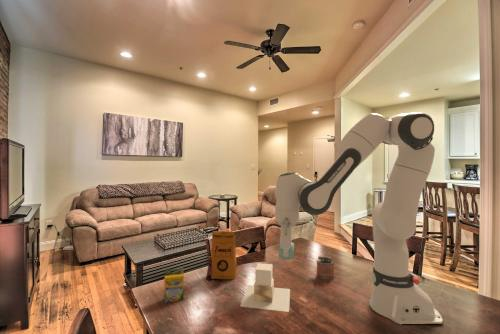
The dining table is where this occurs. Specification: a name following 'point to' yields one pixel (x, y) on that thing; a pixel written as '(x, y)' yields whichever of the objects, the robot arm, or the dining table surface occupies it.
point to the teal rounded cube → (290, 252)
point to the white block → (264, 274)
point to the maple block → (264, 292)
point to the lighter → (325, 268)
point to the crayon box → (174, 285)
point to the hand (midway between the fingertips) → (286, 252)
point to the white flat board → (279, 302)
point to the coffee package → (223, 255)
